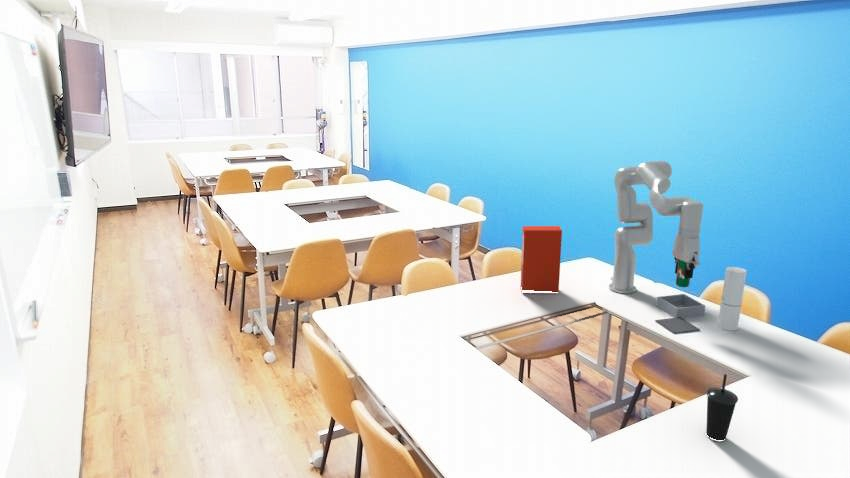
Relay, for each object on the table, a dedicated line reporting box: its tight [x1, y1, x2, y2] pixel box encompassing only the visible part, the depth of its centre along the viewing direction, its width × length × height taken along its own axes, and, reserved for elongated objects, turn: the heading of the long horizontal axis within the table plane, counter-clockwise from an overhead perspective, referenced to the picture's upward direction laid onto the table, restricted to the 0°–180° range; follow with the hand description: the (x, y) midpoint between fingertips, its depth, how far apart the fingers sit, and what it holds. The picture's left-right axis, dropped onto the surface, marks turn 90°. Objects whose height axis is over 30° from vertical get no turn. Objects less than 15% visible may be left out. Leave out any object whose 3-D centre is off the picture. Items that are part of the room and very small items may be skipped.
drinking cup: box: [705, 374, 739, 440], centre depth 148 cm, size 8×8×20 cm
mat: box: [654, 317, 701, 335], centre depth 219 cm, size 12×12×1 cm
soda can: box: [675, 259, 691, 288], centre depth 213 cm, size 5×5×12 cm
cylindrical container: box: [717, 266, 747, 332], centre depth 214 cm, size 7×7×25 cm
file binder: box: [520, 225, 563, 293], centre depth 254 cm, size 8×17×32 cm, turn 86°
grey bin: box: [656, 293, 706, 319], centre depth 233 cm, size 14×14×4 cm
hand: (683, 275), depth 213 cm, fingers closed on soda can, 5 cm apart
